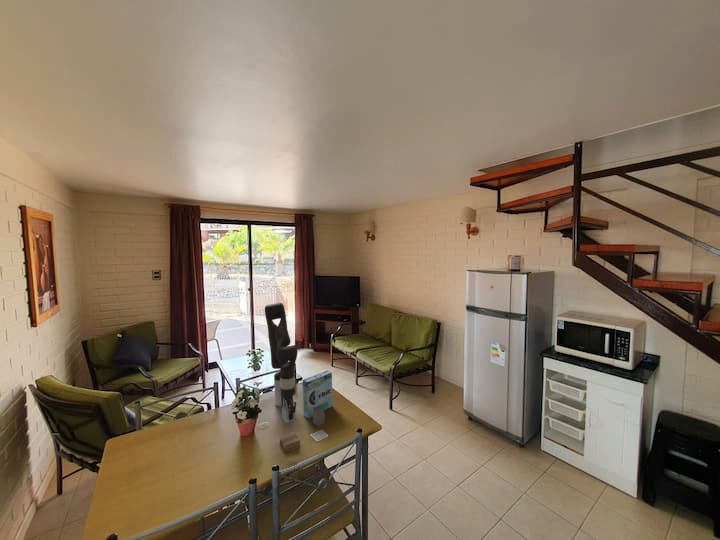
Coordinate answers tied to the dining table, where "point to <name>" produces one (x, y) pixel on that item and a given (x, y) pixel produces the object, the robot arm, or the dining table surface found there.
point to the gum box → (317, 393)
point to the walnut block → (289, 442)
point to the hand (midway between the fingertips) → (288, 417)
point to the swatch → (319, 435)
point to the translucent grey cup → (318, 417)
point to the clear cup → (286, 414)
